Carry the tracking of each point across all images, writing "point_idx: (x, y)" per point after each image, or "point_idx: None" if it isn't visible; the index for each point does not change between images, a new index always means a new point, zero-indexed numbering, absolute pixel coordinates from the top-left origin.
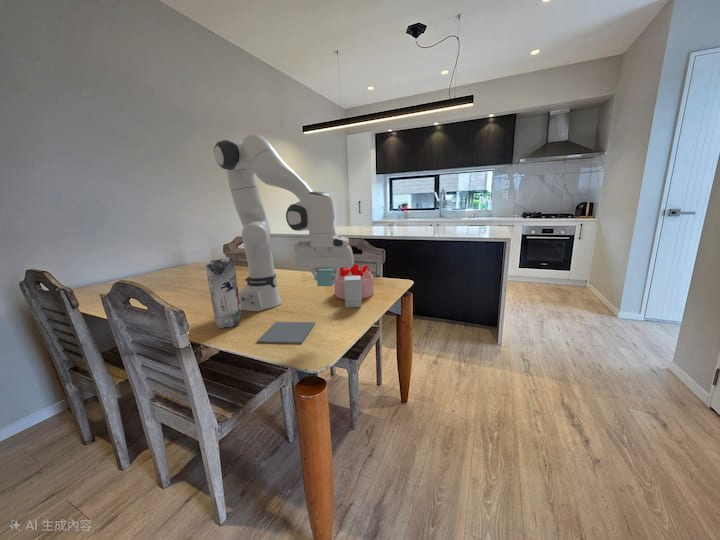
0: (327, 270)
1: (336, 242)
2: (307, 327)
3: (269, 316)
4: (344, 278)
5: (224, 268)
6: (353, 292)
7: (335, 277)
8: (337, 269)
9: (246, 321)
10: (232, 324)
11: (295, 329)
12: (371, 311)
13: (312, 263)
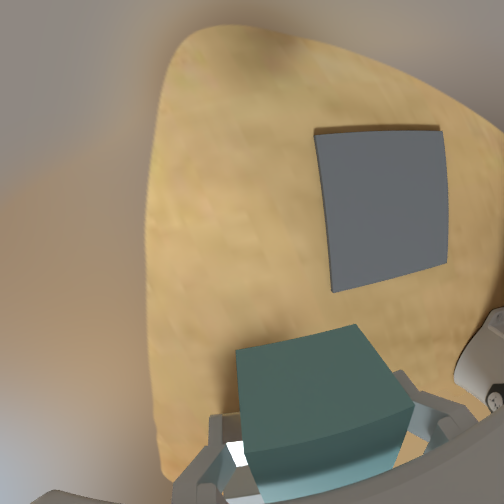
0: (307, 477)
1: None
2: (344, 247)
3: (466, 296)
4: None
5: None
6: None
7: (214, 429)
8: (184, 494)
9: (499, 252)
10: None
11: (377, 223)
12: (177, 405)
13: (488, 463)
